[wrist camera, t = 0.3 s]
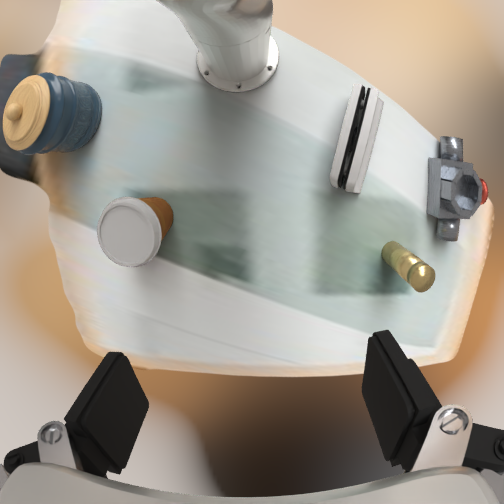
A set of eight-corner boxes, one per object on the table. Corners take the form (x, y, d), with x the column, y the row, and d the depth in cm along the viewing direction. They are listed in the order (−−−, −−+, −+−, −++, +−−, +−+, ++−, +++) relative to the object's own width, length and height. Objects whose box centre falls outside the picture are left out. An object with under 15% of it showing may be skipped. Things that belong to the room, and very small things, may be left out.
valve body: (427, 135, 39) (450, 134, 32) (472, 144, 38) (495, 145, 31) (424, 234, 44) (445, 246, 38) (468, 234, 44) (489, 244, 37)
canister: (85, 71, 36) (23, 49, 19) (115, 117, 39) (49, 105, 23) (43, 119, 39) (-22, 117, 22) (68, 166, 42) (0, 177, 25)
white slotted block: (359, 195, 43) (360, 197, 34) (331, 186, 44) (325, 186, 35) (383, 102, 37) (389, 81, 28) (356, 93, 39) (355, 71, 30)
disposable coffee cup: (178, 249, 46) (153, 278, 35) (127, 236, 46) (92, 260, 35) (187, 193, 43) (163, 206, 32) (134, 182, 43) (97, 192, 32)
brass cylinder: (382, 241, 45) (415, 267, 34) (401, 240, 45) (437, 265, 33) (380, 263, 46) (410, 293, 35) (399, 262, 46) (432, 290, 35)
